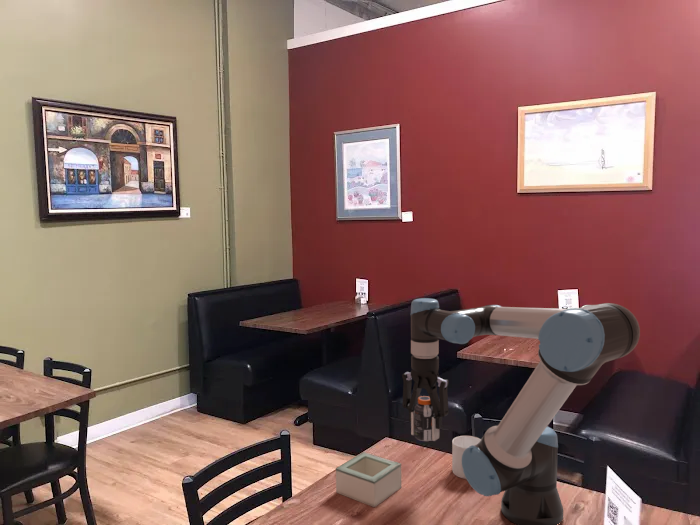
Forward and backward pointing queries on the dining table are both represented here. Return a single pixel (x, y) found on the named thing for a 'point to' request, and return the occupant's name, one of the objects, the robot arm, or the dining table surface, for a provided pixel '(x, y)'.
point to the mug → (461, 452)
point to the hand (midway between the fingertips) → (425, 436)
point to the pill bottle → (423, 419)
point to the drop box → (368, 478)
